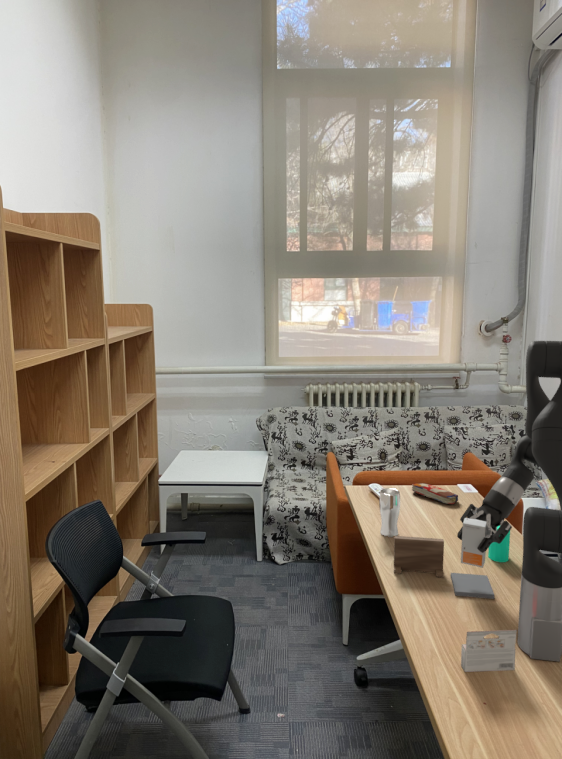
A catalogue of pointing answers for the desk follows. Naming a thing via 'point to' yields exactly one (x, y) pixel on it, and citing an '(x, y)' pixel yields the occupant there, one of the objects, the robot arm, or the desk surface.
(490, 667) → the ink cartridge box
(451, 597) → the desk surface
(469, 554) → the skincare box
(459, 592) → the grey mat
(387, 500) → the beer glass
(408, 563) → the walnut screen
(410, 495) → the desk surface
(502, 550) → the candle
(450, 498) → the paperback book
